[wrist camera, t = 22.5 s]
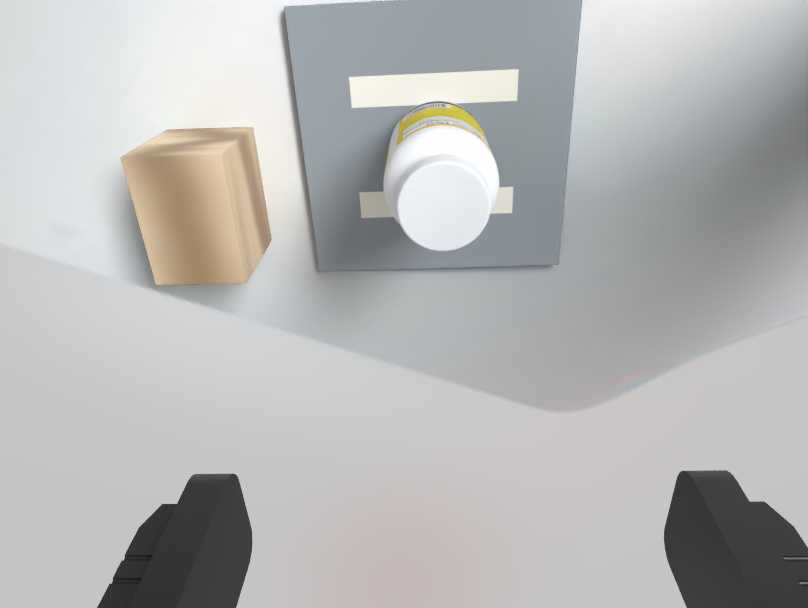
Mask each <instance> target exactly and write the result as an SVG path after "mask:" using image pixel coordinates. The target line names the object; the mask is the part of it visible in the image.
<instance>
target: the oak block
mask: <svg viewBox="0 0 808 608" xmlns="http://www.w3.org/2000/svg"><path fill="white" fill-rule="evenodd" d="M121 162H122V165H123V169H124V172H125V176H126V180H127V183H128V187H129V190H130V194H131V197H132V201H133V205H134V208H135V212H136V215H137V219H138V223H139V226H140V230H141V233H142V237H143V240H144V244H145V248H146V251H147V255H148V258H149V262H150V266H151V269H152V273H153V276H154V280H155V283H156V285H183V284H235V283H247V281H248V279H249V278H250V276H251V274H252V272H253V271H254V269H255V267H256V266H257V264H258V262H259V261H260V259H261V257H262V255H263V254H264V252H265V250H266V249H267V247H268V245H269V243H270V242H271V234H270V228H269V222H268V216H267V209H266V203H265V197H264V191H263V185H262V179H261V173H260V166H259V160H258V154H257V148H256V142H255V136H254V130H253V127H233V128H203V129H172V130H166V131H164V132H163V133H161V134H159V135H158V136H156V137H154V138H153V139H151V140H149V141H148V142H146V143H144V144H142V145H141V146H139V147H137V148H136V149H134V150H132V151H131V152H129V153H127V154H126V155H124V156H122V157H121Z"/></svg>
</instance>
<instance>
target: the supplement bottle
mask: <svg viewBox="0 0 808 608" xmlns="http://www.w3.org/2000/svg"><path fill="white" fill-rule="evenodd" d="M383 187H384V196H385V200H386V203H387V206H388V208H389V210H390V212H391V214H392V215H393V217H394V218H395V219H396V221H397V222H398V223H399V224H400V225H401V227H402V229H403V230H404V232H405V233H406V235H407V236H408V237H409V238H410V239H411V240H413V241H414V242H415V243H416V244H418V245H420V246H422V247H424V248H427V249H430V250H434V251H450V250H455V249H459V248H461V247H463V246H466V245H467V244H469V243H471V242H472V241H473V240H474V239H476V238H477V237H478V236H479V235H480V233H481V232H482V231H483V229H484V228H485V226H486V224H487V222H488V219H489V216H490V213H491V211H492V209H493V207H494V205H495V203H496V200H497V197H498V191H499V173H498V169H497V165H496V161H495V159H494V156H493V154H492V152H491V149H490V147H489V145H488V142H487V140H486V137H485V135H484V133H483V131H482V129H481V127H480V125H479V123H478V122H477V120H476V119H475V118H474V117H473V116H472V115H471V114H470V113H469V112H468V111H467V110H466V109H464V108H463V107H461V106H459V105H456V104H454V103H451V102H447V101H429V102H425V103H422V104H420V105H417V106H415V107H414V108H412V109H410V110H409V111H408V112H407V113H405V114H404V115H403V117H402V118H401V119H400V120H399V121H398V123H397V124H396V126H395V128H394V130H393V133H392V136H391V139H390V142H389V148H388V154H387V160H386V166H385V172H384V181H383Z"/></svg>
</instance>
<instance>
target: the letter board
mask: <svg viewBox="0 0 808 608" xmlns="http://www.w3.org/2000/svg"><path fill="white" fill-rule="evenodd" d="M581 7H582V0H394V1H375V2H357V3H338V4H319V5H301V6H285V7H284V11H285V18H286V26H287V33H288V41H289V48H290V56H291V63H292V71H293V78H294V86H295V94H296V101H297V109H298V116H299V124H300V131H301V139H302V146H303V154H304V161H305V169H306V176H307V184H308V191H309V199H310V206H311V214H312V221H313V229H314V236H315V244H316V251H317V259H318V266H319V272H321V271H356V270H390V269H425V268H459V267H494V266H528V265H558V264H559V252H560V241H561V230H562V219H563V208H564V197H565V186H566V174H567V163H568V152H569V141H570V130H571V119H572V108H573V96H574V85H575V74H576V63H577V52H578V41H579V30H580V18H581ZM429 101H447V102H451V103H454V104H456V105H459V106H461V107H463V108H464V109H466V110H467V111H468V112H469V113H470V114H471V115H472V116H473V117H474V118H475V119H476V120H477V122H478V123H479V125H480V127H481V129H482V131H483V133H484V135H485V137H486V140H487V142H488V145H489V147H490V149H491V152H492V154H493V156H494V159H495V161H496V165H497V169H498V173H499V191H498V197H497V200H496V203H495V205H494V207H493V209H492V211H491V213H490V216H489V219H488V222H487V224H486V226H485V228H484V229H483V231H482V232H481V233H480V235H479V236H478V237H477V238H476V239H474V240H473V241H472V242H471V243H469V244H467V245H466V246H463V247H461V248H459V249H455V250H450V251H434V250H430V249H427V248H424V247H422V246H420V245H418V244H416V243H415V242H414V241H413V240H411V239H410V238H409V237H408V236H407V235H406V233H405V232H404V230H403V229H402V227H401V225H400V224H399V223H398V222H397V221H396V219H395V218H394V217H393V215H392V214H391V212H390V210H389V208H388V206H387V203H386V200H385V196H384V187H383V181H384V172H385V166H386V160H387V154H388V148H389V142H390V139H391V136H392V133H393V130H394V128H395V126H396V124H397V123H398V121H399V120H400V119H401V118H402V117H403V115H404V114H405V113H407V112H408V111H409V110H410V109H412V108H414V107H415V106H417V105H420V104H422V103H425V102H429Z"/></svg>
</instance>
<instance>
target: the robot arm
mask: <svg viewBox="0 0 808 608" xmlns="http://www.w3.org/2000/svg"><path fill="white" fill-rule="evenodd" d="M664 542H665V550H666V555H667V559H668V562H669V565H670V568H671V570H672V573H673V575H674V577H675V580H676V582H677V585H678V587H679V590H680V592H681V595H682V597H683V600H684V602H685V604H686V606H687V608H808V547H807V546H806V545H805V543H804V541H803V540H802V538H801V537H800V535H799V534H798V532H797V531H796V529H795V528H794V527H793V526H792V525H791V524H790V523H789V522H788V521H786V520H785V519H784V518H783V517H782V516H781V515H779V514H778V513H777V512H776V511H775V510H774V509H773V508H771V507H770V506H769V505H768V504H767V503H765V502H749V500H748V499H747V497H746V495H745V494H744V492H743V490H742V489H741V487H740V485H739V484H738V482H737V481H736V479H735V478H734V476H733V475H732V474H731V473H730V472H728V471H682V472H680V473H679V475H678V477H677V480H676V485H675V489H674V493H673V497H672V501H671V505H670V509H669V513H668V517H667V521H666V525H665V530H664ZM251 552H252V530H251V526H250V521H249V517H248V513H247V510H246V506H245V502H244V498H243V494H242V490H241V487H240V483H239V479H238V477H237V476H236V475H235V474H195V475H193V476H192V477H191V478H190V479H189V481H188V483H187V485H186V487H185V489H184V491H183V493H182V495H181V497H180V499H179V501H178V504H162V505H161V506H160V507H159V508H158V509H157V510H156V511H155V512H154V513H153V514H152V515H151V516H150V517H149V518H148V519H147V520H146V521H145V522H144V523H143V524H142V525H141V526H140V527H139V529H138V531H137V533H136V535H135V537H134V538H133V540H132V542H131V544H130V546H129V548H128V550H127V552H126V554H125V559H124V561H122V562H121V563H120V565H119V567H118V569H117V571H116V573H115V575H114V577H113V582H112V584H109V586H108V588H107V590H106V592H105V594H104V596H103V598H102V600H101V602H100V604H99V605H98V607H97V608H236V606H237V602H238V599H239V596H240V593H241V589H242V586H243V583H244V580H245V576H246V573H247V570H248V566H249V563H250V558H251Z"/></svg>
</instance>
